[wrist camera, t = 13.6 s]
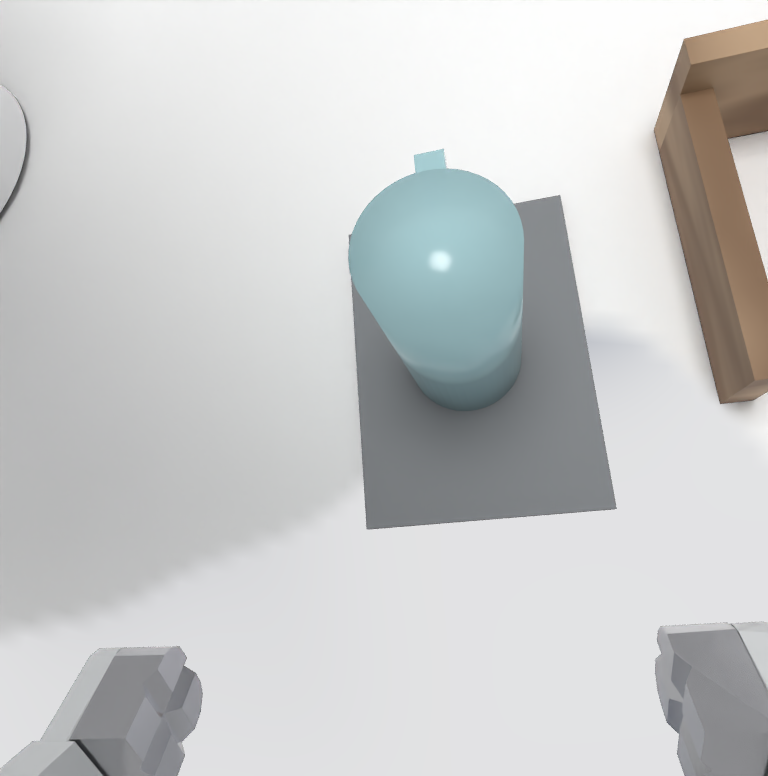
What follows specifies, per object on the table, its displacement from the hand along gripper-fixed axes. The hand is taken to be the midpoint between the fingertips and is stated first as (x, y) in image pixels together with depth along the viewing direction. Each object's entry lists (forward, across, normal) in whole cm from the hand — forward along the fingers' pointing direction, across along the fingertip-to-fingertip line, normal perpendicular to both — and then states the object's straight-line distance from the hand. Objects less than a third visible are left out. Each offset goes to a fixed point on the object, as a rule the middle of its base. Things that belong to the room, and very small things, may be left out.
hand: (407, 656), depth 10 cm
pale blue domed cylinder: (+17, -1, +2) cm, 17 cm away
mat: (+17, -1, +3) cm, 17 cm away
